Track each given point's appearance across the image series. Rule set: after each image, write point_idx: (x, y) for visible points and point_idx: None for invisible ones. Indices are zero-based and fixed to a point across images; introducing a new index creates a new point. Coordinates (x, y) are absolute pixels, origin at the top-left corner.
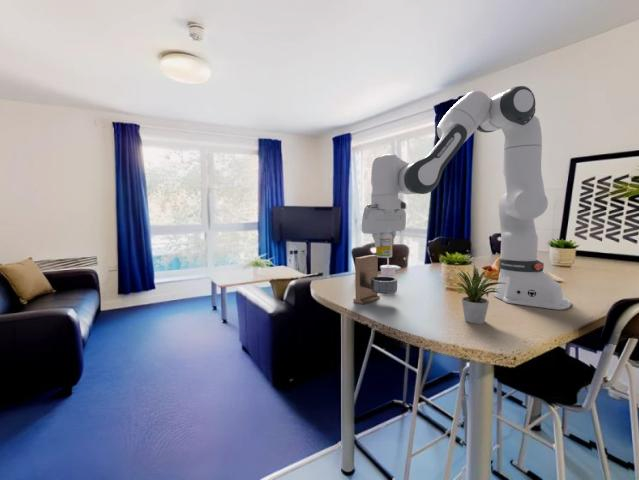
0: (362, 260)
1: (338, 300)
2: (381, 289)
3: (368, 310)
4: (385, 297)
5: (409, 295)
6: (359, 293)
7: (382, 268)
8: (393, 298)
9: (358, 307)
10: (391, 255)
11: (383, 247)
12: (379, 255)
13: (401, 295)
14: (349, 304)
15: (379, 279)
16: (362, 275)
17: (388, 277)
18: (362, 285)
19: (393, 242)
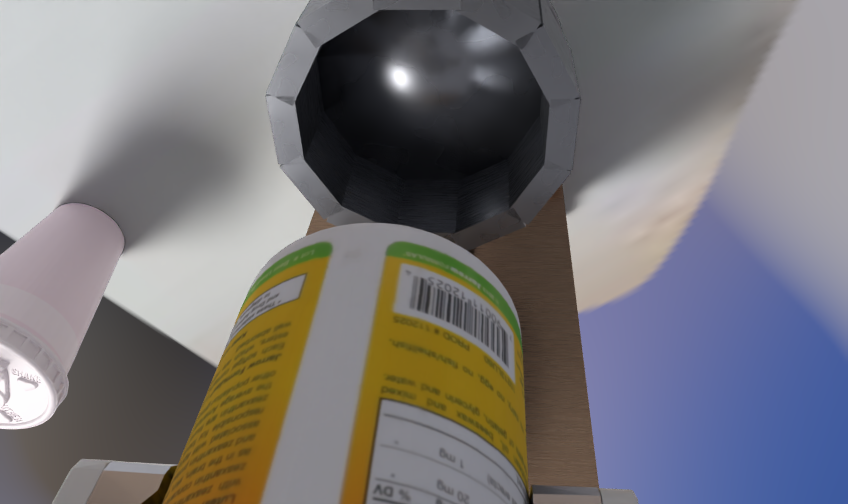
0: (542, 461)
1: (585, 307)
2: (563, 35)
3: (672, 14)
4: (261, 131)
5: (34, 22)
6: (564, 218)
7: (59, 384)
8: (227, 69)
9: (647, 120)
10: (350, 237)
11: (507, 434)
12: (522, 357)
13: (100, 72)
14: (620, 208)
15: (377, 204)
16: (535, 323)
17: (304, 149)
18: (532, 255)
19: (66, 492)
